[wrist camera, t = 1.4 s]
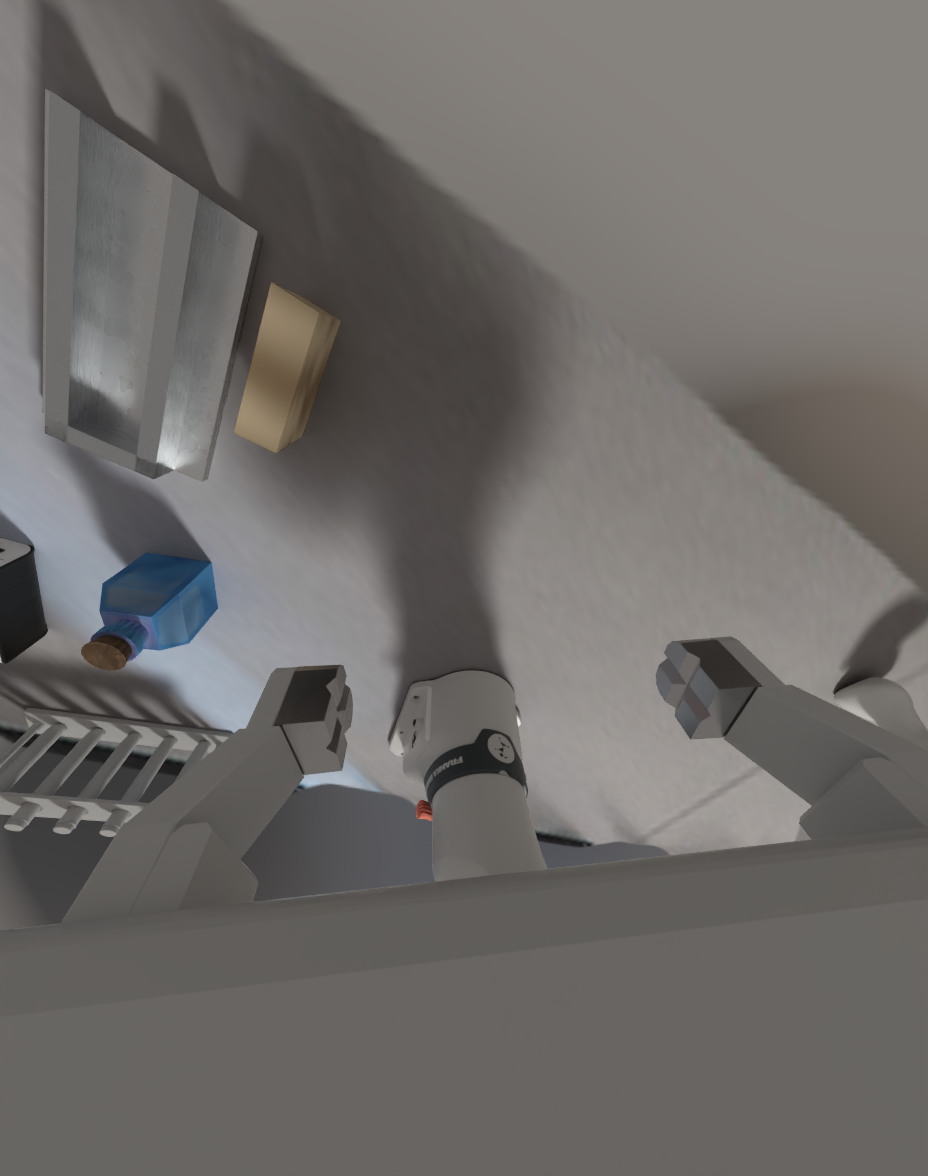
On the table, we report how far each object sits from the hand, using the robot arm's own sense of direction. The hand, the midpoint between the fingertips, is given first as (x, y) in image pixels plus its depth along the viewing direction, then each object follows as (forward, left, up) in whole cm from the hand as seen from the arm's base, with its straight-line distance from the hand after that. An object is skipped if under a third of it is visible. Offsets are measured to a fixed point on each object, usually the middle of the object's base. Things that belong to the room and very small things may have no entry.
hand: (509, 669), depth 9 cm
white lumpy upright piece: (-3, -77, -31) cm, 83 cm away
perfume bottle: (-28, +18, -31) cm, 45 cm away
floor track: (-5, +24, -31) cm, 39 cm away
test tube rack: (-56, +20, -31) cm, 67 cm away
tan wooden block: (-2, +13, -31) cm, 33 cm away
